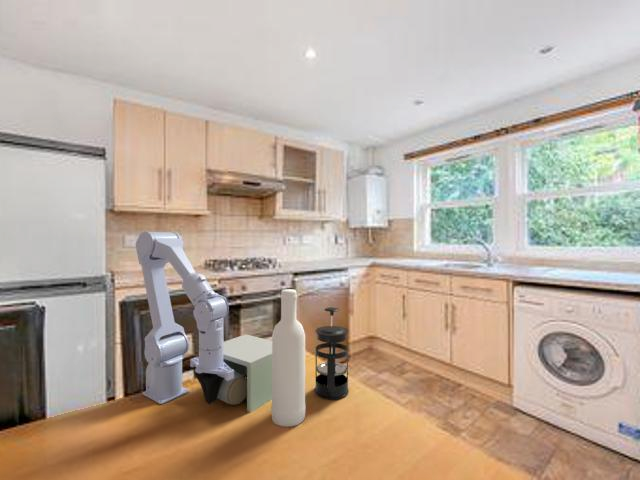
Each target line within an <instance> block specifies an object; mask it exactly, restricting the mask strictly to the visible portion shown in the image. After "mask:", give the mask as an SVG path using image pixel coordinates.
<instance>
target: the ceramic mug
mask: <svg viewBox="0 0 640 480" xmlns="http://www.w3.org/2000/svg"><path fill="white" fill-rule="evenodd" d="M217 399H218V400H220V401H222V402H224V403H226V404H228V405H230V406H237V405H240V404H241V403H242V402H243V401H244V400H246V399H247V377H246V375H242V374H240V373H238V372H236V371H235V370H234V378H233V379H231V380H229V381H226V380H225V378H224V379H223V381H222V383H221V385H220V388H219V391H218V395H217Z"/></svg>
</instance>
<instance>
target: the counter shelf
mask: <svg viewBox="0 0 640 480" xmlns="http://www.w3.org/2000/svg"><path fill="white" fill-rule="evenodd" d="M223 362H224V363H225V364H226V365H228V366H229V367H230V368H231V369H233V370H235V371H236V372H238V373H240V374H242V375H244V376H247V377H246V378H247V396H246V407H247V408H246V411H247V412H248V413H252V412H254V411H255V410H257V409H258V408H260V407H262V406H263V405H265V404H266V403H268V402H270V401H272V339H271V340H270V339H266V338H262V337H259V336H254V335H251V334H242V335H240V336H237V337H233V338H230V339H228V340H224V343H223Z"/></svg>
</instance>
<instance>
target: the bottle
mask: <svg viewBox="0 0 640 480" xmlns="http://www.w3.org/2000/svg"><path fill="white" fill-rule="evenodd" d="M280 293H281V294H280V302H281V303H280V320H279V322H278V323H276V324H275V325H274V328H273V331H272V335H271V338H272V339H271V341H272V399H271V419H272V422H273V423H274V425H275V424H276V425H277V426H279V427H284V428H290V427H295V426H299V425H300V424H301V423H302V422H304V421H305V418H306V409H307V408H306V332H305V330H304V327H303V324H302V323H301V322H300V321H299V320H298V319H297V304H298V303H297V302H298V301H297V299H298V294H297V293H298V292H297V290H296V289H293V288H289V289H281V291H280Z"/></svg>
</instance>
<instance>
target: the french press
mask: <svg viewBox="0 0 640 480" xmlns="http://www.w3.org/2000/svg"><path fill="white" fill-rule="evenodd" d="M323 311H326V312H329V313H330V314H329V316H331V317H330V319H331V320H330V325H326V326H325V325H324V326H320V327H317V328H316V329H315V333H316V335H317V337H316V338H317V340H318V341H319V342H322V343H320V344H317V345H316V346H315V387H314V393H315V396H317V397H318V398H321V399H322V400H323V399H324V400H329V401H334V400H335V401H336V400H341V399H343V398H346V397H347V396H348V395H349V392H350V391H349V390H350V389H349V347H348V346H347V345H345V344H343V343H342V342H345V341H346V340H347V334H348V333H349V330H348V329H347V328H346V327H343V326H338V325H337V326H336V325H333V318H334V317H333V316H335V315H334V312H335V313H336V312H339V311H340V308H338V307H332V306H331V307H326V308H324V309H323ZM326 348H329V349H328V350H329V351H328V352H322V351H320V350H322V349H326ZM336 348H338V349H341V350H344V351H343V352H339V353H336ZM318 357H319V358H322V359H327V362H323V363H320V364H318ZM345 357H346V365H345V364H343V363H339V362H336V360H337V359H343V358H345ZM317 374H318V375H317ZM345 374H346V375H345Z"/></svg>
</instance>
